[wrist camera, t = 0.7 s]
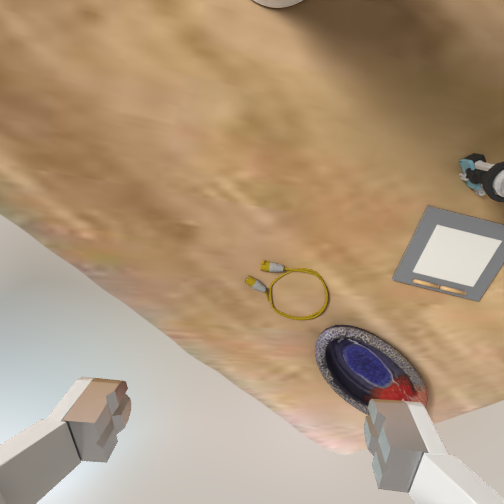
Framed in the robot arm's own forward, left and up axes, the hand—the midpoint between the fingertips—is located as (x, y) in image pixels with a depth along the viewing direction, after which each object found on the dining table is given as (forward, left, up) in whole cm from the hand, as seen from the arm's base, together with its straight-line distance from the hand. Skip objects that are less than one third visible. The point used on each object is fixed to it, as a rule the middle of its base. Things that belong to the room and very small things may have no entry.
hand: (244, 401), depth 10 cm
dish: (+33, +30, -43) cm, 62 cm away
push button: (-8, +30, -43) cm, 53 cm away
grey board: (+5, +34, -43) cm, 54 cm away
